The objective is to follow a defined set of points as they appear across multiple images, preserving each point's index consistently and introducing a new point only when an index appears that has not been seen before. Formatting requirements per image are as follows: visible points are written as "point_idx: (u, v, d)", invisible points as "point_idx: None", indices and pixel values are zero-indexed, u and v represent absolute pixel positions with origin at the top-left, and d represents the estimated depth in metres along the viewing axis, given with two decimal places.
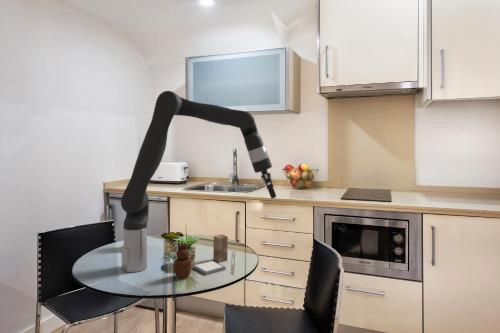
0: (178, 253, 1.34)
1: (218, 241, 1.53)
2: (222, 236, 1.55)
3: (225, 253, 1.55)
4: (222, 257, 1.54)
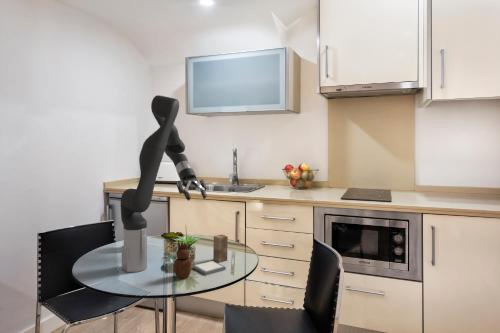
0: (178, 253, 1.34)
1: (218, 241, 1.53)
2: (222, 236, 1.55)
3: (225, 253, 1.55)
4: (222, 257, 1.54)
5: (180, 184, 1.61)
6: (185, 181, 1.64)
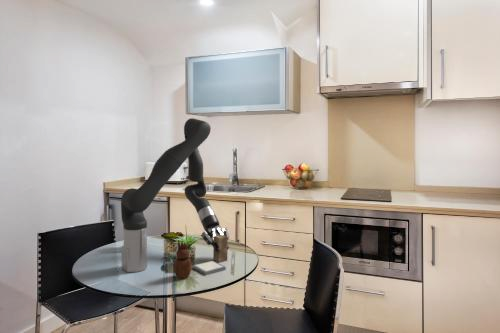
0: (178, 253, 1.34)
1: (218, 240, 1.53)
2: (222, 236, 1.55)
3: (225, 253, 1.55)
4: (222, 257, 1.54)
5: (206, 235, 1.54)
6: (209, 229, 1.57)
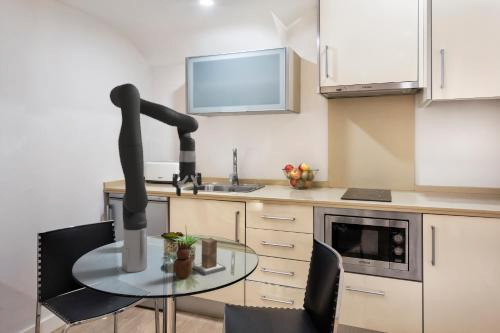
0: (178, 253, 1.34)
1: (207, 245, 1.42)
2: (211, 240, 1.44)
3: (214, 259, 1.44)
4: (211, 263, 1.43)
5: (176, 179, 1.56)
6: (182, 175, 1.58)
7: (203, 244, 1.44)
